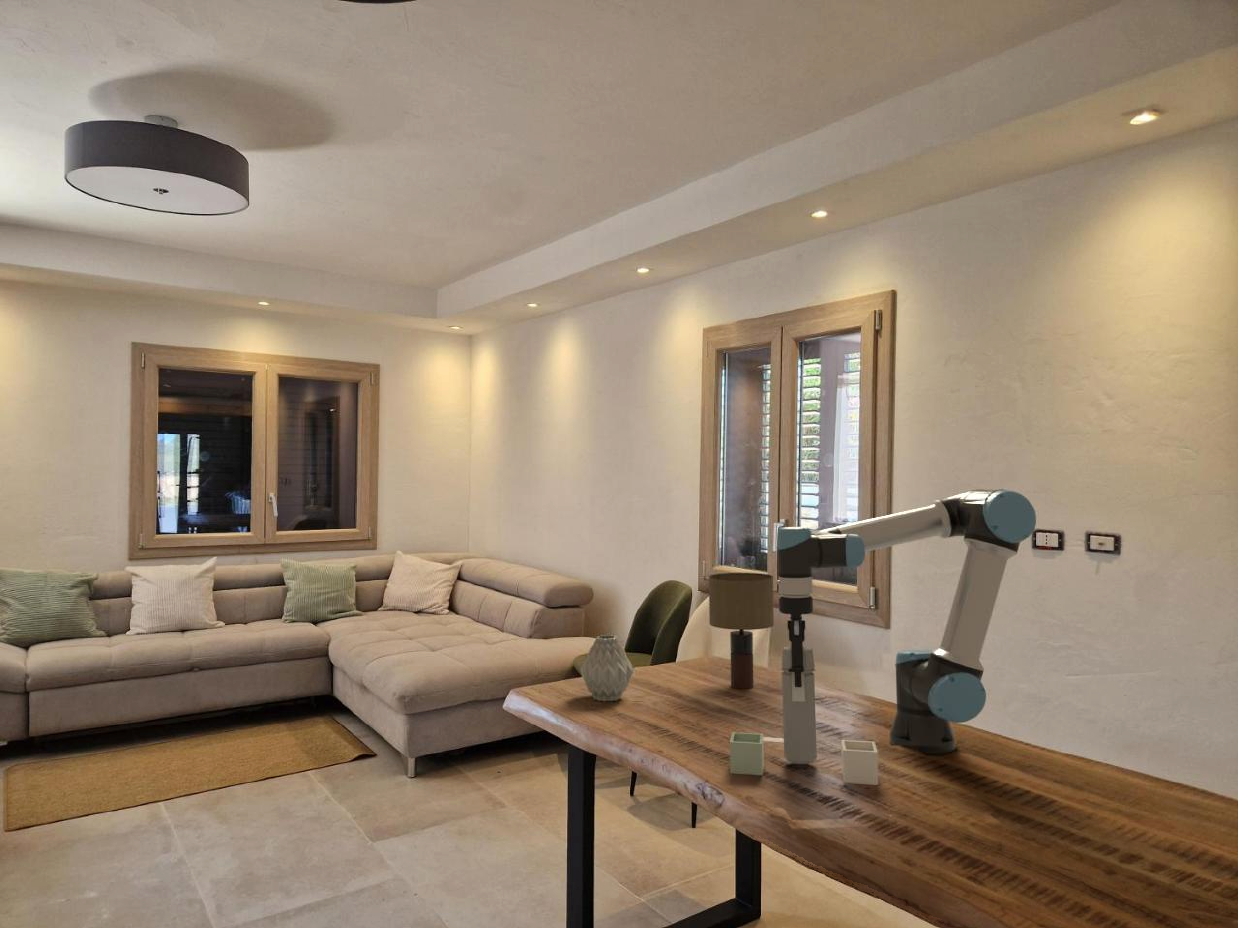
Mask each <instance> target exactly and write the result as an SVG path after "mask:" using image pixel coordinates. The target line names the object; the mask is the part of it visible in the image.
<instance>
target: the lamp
mask: <svg viewBox="0 0 1238 928" xmlns="http://www.w3.org/2000/svg"><path fill="white" fill-rule="evenodd" d="M708 588H709V589H708V606H709V607H708V609H709V611H708V612H709V613H708V614H709V618H708V619H709V625H710V626H712V627H713V628H717V629H718V628H719V629H725V630H733V631H730V635H729V637H730V639H729V641H730V687H731V688H732V689H734V690H735V689H736V690H749V689H753V688H754V653H753V652H754V643H753V642H754V638H753V637H754V634H753V633H754V632H751V631H752V630H763V629H764V630H765V629H768V628H771V627H774V625H775V624H774V623H775V621H774V618H775V617H774V576H773V575H771V574H766V573H759V572H721V573H712V574H709V575H708ZM749 630H751V631H749Z"/></svg>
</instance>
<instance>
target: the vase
mask: <svg viewBox="0 0 1238 928" xmlns="http://www.w3.org/2000/svg"><path fill="white" fill-rule="evenodd" d="M618 639H619V638H618V636H616V635H612V634H610V635H609V634H604V635H602V634H601V635H597V636H596V637H595V640H594V642H593V644H592V645H591V647H590V648H589V650H588V654H587V655H586V659H585V660H584V662H583V664H582V666H581V667H580V669H579V672H580V674H581V676H582V679H583V681H584V683H585V686H586V688H587V690H588V692H589V693H591V694H592V698H593V700H596V701H598V702H601V701H602V702H612V701H618V700H620V699H622V696H623V693H624V692H626V690H627V688H628V687H629V683H630V681H631V679H632V677H633V674H634V670H635V669H634V667H633V664H632V663H631V661H630V660H629V659H628V657H627V653H626V651H625V648H624V647H623V646H622V644H621V642H620V641H619V640H618Z"/></svg>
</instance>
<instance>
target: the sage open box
mask: <svg viewBox="0 0 1238 928" xmlns="http://www.w3.org/2000/svg"><path fill="white" fill-rule="evenodd" d="M763 737H764V733H757V732H756V733H755V732H754V733H752V732H735V731H734V732H733V731H732V732H731V736H730V740H729V761H730V762H729V763H730V764H729V769H730V770H729V773H730V774H734V775H735V774H737V775H751V776H764V775H763V774H764V767H765V766H764V765H765V764H764V763H765V760H764V759H765V757H764V756H765V755H764V754H765V753H764V746H765V745H764V744H765V743H764V742H765V741H764V738H763Z"/></svg>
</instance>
